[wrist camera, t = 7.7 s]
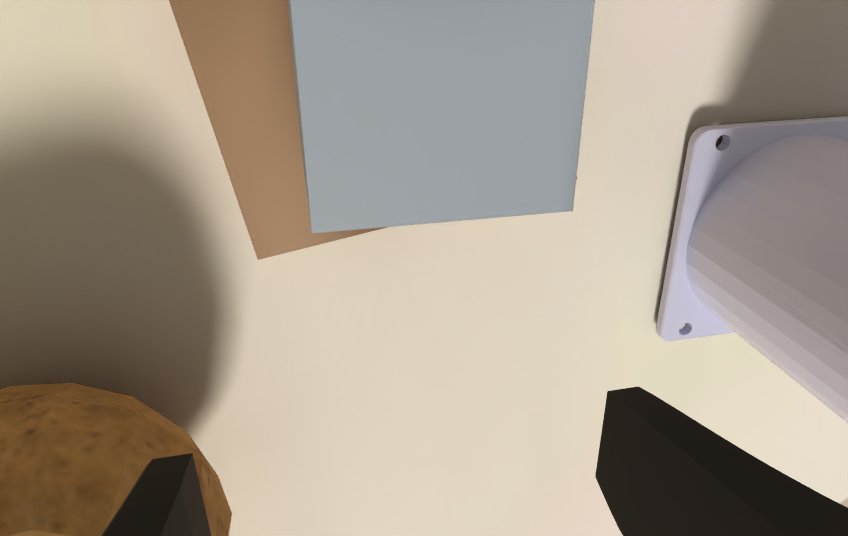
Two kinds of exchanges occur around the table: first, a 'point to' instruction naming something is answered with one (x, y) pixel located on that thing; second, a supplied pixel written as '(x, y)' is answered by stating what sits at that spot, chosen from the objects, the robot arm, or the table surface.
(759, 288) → the robot arm
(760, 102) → the table surface
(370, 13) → the cube
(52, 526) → the potato
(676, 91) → the table surface
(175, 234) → the table surface
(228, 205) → the table surface
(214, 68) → the walnut block
